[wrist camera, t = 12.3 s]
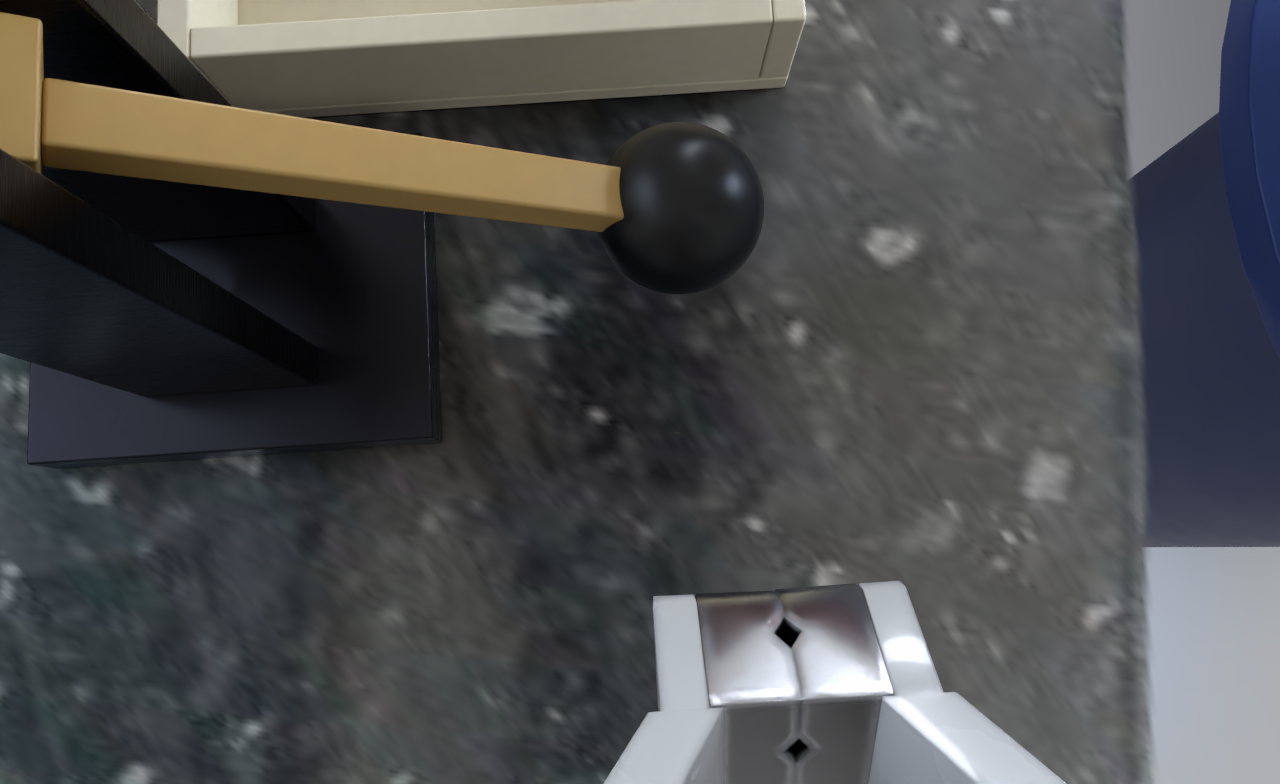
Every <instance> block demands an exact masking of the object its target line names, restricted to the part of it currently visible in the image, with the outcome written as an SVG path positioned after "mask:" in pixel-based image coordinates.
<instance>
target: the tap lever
mask: <svg viewBox="0 0 1280 784" xmlns="http://www.w3.org/2000/svg"><path fill="white" fill-rule="evenodd" d="M0 149H2V150H3V151H5V152H7V153H8V154H10V155H11V156H13V157H15V158H16V159H18V160H19V161H21V162H23V163H24V164H26V165H27V166H29V167H31V168H32V169H34V170H35V171H37V172H39V173H40V174H42V164H43V165H44V166H47V167H52V168H61V169H69V170H78V171H86V172H95V173H103V174H112V175H121V176H129V177H138V178H146V179H155V180H163V181H172V182H180V183H189V184H197V185H206V186H214V187H223V188H231V189H240V190H248V191H257V192H265V193H274V194H283V195H291V196H300V197H308V198H317V199H325V200H334V201H342V202H351V203H359V204H368V205H376V206H385V207H393V208H402V209H410V210H419V211H427V212H436V213H445V214H453V215H462V216H470V217H479V218H487V219H496V220H504V221H513V222H521V223H530V224H538V225H547V226H555V227H564V228H572V229H581V230H589V231H597V232H598V235H599V238H600V241H601V243H602V245H603V247H604V249H605V251H606V253H607V255H608V256H609V258H610V259H611V260H612V262H613V263H614V264H615V265H616V267H617V268H618V269H619V270H620V271H621V272H622V273H623V274H625V275H626V276H627V277H628V278H630V279H631V280H633V281H634V282H636V283H637V284H639V285H642V286H644V287H646V288H648V289H651V290H654V291H657V292H662V293H668V294H689V293H696V292H699V291H703V290H706V289H709V288H712V287H714V286H716V285H718V284H719V283H721V282H723V281H725V280H726V279H727V278H729V277H730V276H731V275H733V274H734V273H735V272H736V271H737V270H738V269H739V268H740V267H741V266H742V265H743V264H744V262H745V261H746V260H747V258H748V257H749V255H750V254H751V252H752V251H753V249H754V247H755V245H756V243H757V240H758V238H759V235H760V232H761V228H762V223H763V215H764V199H763V192H762V188H761V184H760V180H759V177H758V175H757V172H756V170H755V168H754V166H753V164H752V163H751V161H750V159H749V158H748V157H747V155H746V154H745V153H744V152H743V150H742V149H741V148H740V147H739V146H738V145H737V144H736V143H734V142H733V141H732V140H731V139H730V138H728V137H727V136H725V135H724V134H722V133H720V132H719V131H717V130H714V129H712V128H709V127H707V126H704V125H700V124H697V123H688V122H670V123H664V124H658V125H656V126H653V127H650V128H647V129H645V130H642V131H641V132H639V133H637V134H636V135H634V136H632V137H631V138H629V139H628V140H627V141H626V142H625V143H623V144H622V145H621V146H620V147H619V148H618V149H617V150H616V152H615V153H614V154H613V155H612V156H611V158H610V159H609V161H608V163H607V164H606V165H602V164H595V163H589V162H583V161H576V160H570V159H564V158H557V157H551V156H544V155H538V154H532V153H525V152H519V151H512V150H506V149H500V148H493V147H487V146H481V145H474V144H468V143H461V142H455V141H449V140H442V139H436V138H429V137H423V136H417V135H410V134H404V133H398V132H391V131H385V130H378V129H372V128H366V127H359V126H353V125H346V124H340V123H334V122H327V121H321V120H315V119H308V118H302V117H295V116H289V115H283V114H276V113H270V112H263V111H257V110H251V109H244V108H238V107H232V106H225V105H219V104H212V103H206V102H200V101H193V100H187V99H180V98H174V97H168V96H161V95H155V94H149V93H142V92H136V91H129V90H123V89H117V88H110V87H104V86H97V85H91V84H85V83H78V82H72V81H66V80H59V79H53V78H45V79H44V65H43V24H42V22H41V20H39V19H37V18H31V17H26V16H20V15H15V14H9V13H4V12H0Z"/></svg>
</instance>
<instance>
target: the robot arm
mask: <svg viewBox="0 0 1280 784" xmlns="http://www.w3.org/2000/svg"><path fill="white" fill-rule="evenodd" d="M653 619H654V638H655V657H656V676H657V695H658V710H659V711H657V712H648V714H647V715H646V717H645V719H644V720H643V722H642V723H641V725H640V726H639V728H638V730H637V731H636V733H635V734H634V736H633V738H632V739H631V741H630V742H629V744H628V746H627V747H626V749H625V750H624V752H623V753H622V755H621V757H620V758H619V760H618V761H617V763H616V765H615V766H614V768H613V769H612V771H611V772H610V774H609V776H608V777H607V779H606V780H605V782H604V784H1067V783H1065V782H1064V781H1063V780H1062V779H1061V778H1059V777H1058V776H1057V775H1056V774H1055V773H1053V772H1052V771H1051V770H1050V769H1048V768H1047V767H1046V766H1045V765H1044V764H1042V763H1041V762H1040V761H1039V760H1038V759H1036V758H1035V757H1034V756H1033V755H1032V754H1030V753H1029V752H1028V751H1027V750H1026V749H1024V748H1023V747H1022V746H1021V745H1020V744H1018V743H1017V742H1016V741H1015V740H1014V739H1012V738H1011V737H1010V736H1009V735H1008V734H1006V733H1005V732H1004V731H1003V730H1002V729H1000V728H999V727H998V726H997V725H996V724H994V723H993V722H992V721H991V720H990V719H988V718H987V717H986V716H985V715H984V714H982V713H981V712H980V711H979V710H977V709H976V708H975V707H974V706H973V705H971V704H970V703H969V702H968V701H967V700H965V699H964V698H963V697H962V696H961V695H959V694H958V693H957V692H943V689H942V686H941V683H940V681H939V678H938V675H937V672H936V670H935V667H934V664H933V661H932V658H931V656H930V653H929V650H928V647H927V645H926V642H925V639H924V636H923V634H922V631H921V628H920V625H919V622H918V620H917V617H916V614H915V611H914V609H913V606H912V603H911V600H910V598H909V595H908V592H907V589H906V587H905V586H904V585H903V584H902V583H901V582H900V581H889V582H875V583H861V584H858V585H857V584H855V583H854V584H841V585H828V586H815V587H802V588H789V589H776V590H775V591H755V592H730V593H704V594H696V595H695V596H694V594H693V595H671V596H653Z"/></svg>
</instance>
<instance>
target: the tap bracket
mask: <svg viewBox="0 0 1280 784" xmlns="http://www.w3.org/2000/svg"><path fill="white" fill-rule="evenodd" d="M0 12H4V13H9V14H15V15H20V16H26V17H31V18H37V19H39V20H41V22H42V24H43V65H44V79H45V78H53V79H59V80H66V81H72V82H78V83H85V84H91V85H97V86H104V87H110V88H117V89H123V90H129V91H136V92H142V93H149V94H155V95H161V96H168V97H174V98H180V99H187V100H193V101H200V102H206V103H212V104H219V105H225V106H232V105H231V104H230V103H229V102H228V101H227V100H226V99H225V98H224V97H223V96H222V95H221V93H220V92H219V91H218V90H217V89H216V88H215V87H214V86H213V85H212V84H211V83H210V81H209V80H208V79H207V78H206V77H205V76H204V75H203V74H202V73H201V72H200V71H199V70H198V68H197V67H196V66H195V65H194V64H193V63H192V62H191V61H190V60H189V59H188V58H187V56H186V55H185V54H184V53H183V52H182V51H181V50H180V49H179V48H178V47H177V46H176V44H175V43H174V42H173V41H172V40H171V39H170V38H169V37H168V36H167V35H166V34H165V32H164V31H163V30H162V29H161V28H160V27H159V26H158V25H157V24H156V23H155V22H154V21H153V19H152V18H151V17H150V16H149V15H148V14H147V13H146V12H145V11H144V10H143V9H142V7H141V6H140V5H139V4H138V3H137V2H136V1H135V0H0ZM410 135H417V136H423V135H422V134H421V133H414V134H410ZM0 353H2V354H6V355H9V356H12V357H16V358H19V359H22V360H25V361H29V362H30V391H29V425H28V460H27V463H28V464H30V465H36V466H43V467H51V468H73V467H88V466H102V465H117V464H132V463H147V462H162V461H177V460H192V459H207V458H221V457H236V456H251V455H266V454H281V453H296V452H311V451H326V450H340V449H355V448H370V447H385V446H400V445H415V444H430V443H441V442H442V420H441V393H440V366H439V338H438V311H437V284H436V257H435V229H434V212H427V211H419V210H410V209H402V208H393V207H385V206H376V205H368V204H359V203H351V202H342V201H334V200H325V199H317V198H308V197H300V196H291V195H283V194H274V193H265V192H257V191H248V190H240V189H231V188H223V187H214V186H206V185H197V184H189V183H180V182H172V181H163V180H155V179H146V178H138V177H129V176H121V175H112V174H103V173H95V172H86V171H78V170H69V169H61V168H52V167H47V166H44V165H43V164H42V174H40V173H39V172H37V171H35V170H34V169H32V168H31V167H29V166H27V165H26V164H24V163H23V162H21V161H19V160H18V159H16V158H15V157H13V156H11V155H10V154H8V153H7V152H5V151H3V150H2V149H0Z"/></svg>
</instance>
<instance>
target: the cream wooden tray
mask: <svg viewBox="0 0 1280 784" xmlns="http://www.w3.org/2000/svg"><path fill="white" fill-rule="evenodd" d="M805 21H806V8H805V0H158V26H159V27H160V28H161V29H162V30H163V31H164V32H165V34H166V35H167V36H168V37H169V38H170V39H171V40H172V41H173V42H174V43H175V44H176V46H177V47H178V48H179V49H180V50H181V51H182V52H183V53H184V54H185V55H186V56H187V58H188V59H189V60H190V61H191V62H192V63H193V64H194V65H195V66H196V67H197V68H198V70H199V71H200V72H201V73H202V74H203V75H204V76H205V77H206V78H207V79H208V80H209V81H210V83H211V84H212V85H213V86H214V87H215V88H216V89H217V90H218V91H219V92H220V93H221V95H222V96H223V97H224V98H225V99H226V100H227V101H228V102H229V103H230V104H231V105H232V107H238V108H244V109H251V110H257V111H263V112H270V113H276V114H283V115H289V116H295V117H302V118H303V117H319V116H335V115H351V114H367V113H383V112H399V111H414V110H430V109H446V108H462V107H478V106H494V105H510V104H526V103H541V102H557V101H573V100H589V99H605V98H621V97H637V96H652V95H668V94H684V93H700V92H716V91H732V90H748V89H764V88H779V87H785V84H786V81H787V78H788V74H789V71H790V68H791V65H792V62H793V59H794V55H795V52H796V49H797V46H798V43H799V40H800V36H801V33H802V30H803V27H804V24H805Z"/></svg>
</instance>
